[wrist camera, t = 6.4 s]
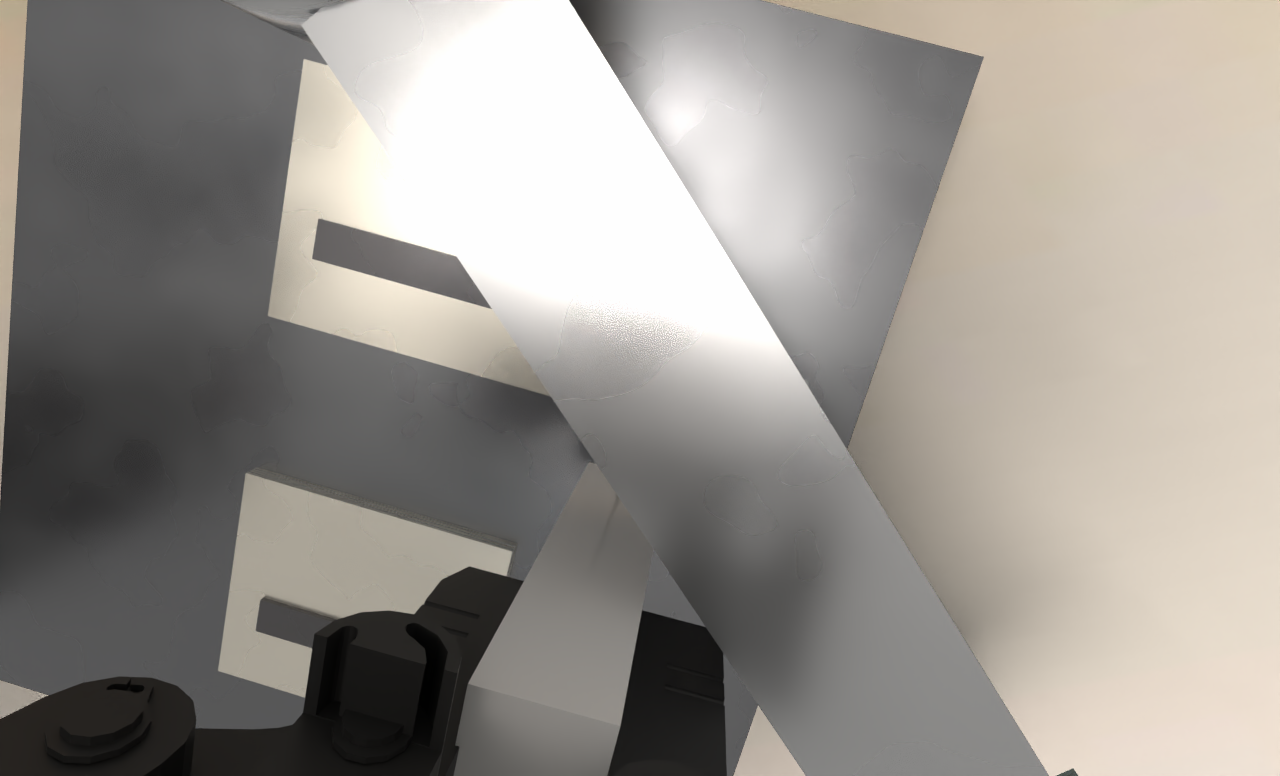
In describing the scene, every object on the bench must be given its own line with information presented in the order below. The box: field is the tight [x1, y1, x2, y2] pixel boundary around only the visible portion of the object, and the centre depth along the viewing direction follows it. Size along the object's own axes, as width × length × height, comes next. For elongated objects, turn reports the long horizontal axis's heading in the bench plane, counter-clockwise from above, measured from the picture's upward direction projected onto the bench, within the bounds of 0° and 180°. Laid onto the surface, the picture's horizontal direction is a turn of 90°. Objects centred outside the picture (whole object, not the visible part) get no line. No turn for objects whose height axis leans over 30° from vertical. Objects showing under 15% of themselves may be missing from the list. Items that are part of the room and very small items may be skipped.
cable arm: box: [221, 0, 1078, 776], centre depth 9 cm, size 4×21×4 cm, turn 33°
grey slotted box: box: [0, 0, 984, 776], centre depth 15 cm, size 18×20×6 cm
